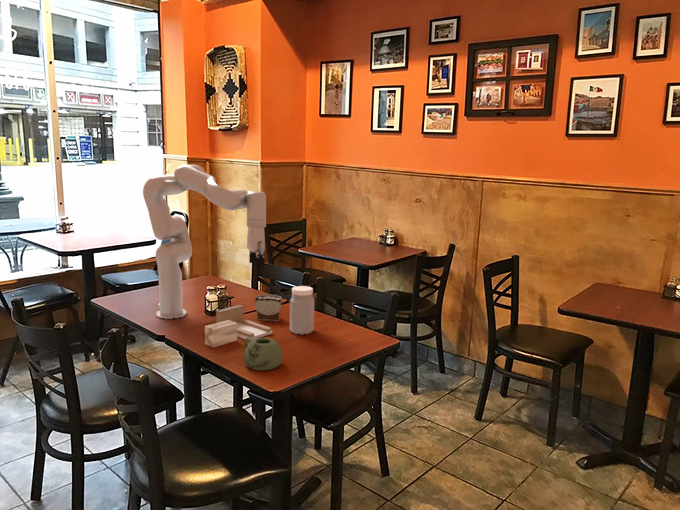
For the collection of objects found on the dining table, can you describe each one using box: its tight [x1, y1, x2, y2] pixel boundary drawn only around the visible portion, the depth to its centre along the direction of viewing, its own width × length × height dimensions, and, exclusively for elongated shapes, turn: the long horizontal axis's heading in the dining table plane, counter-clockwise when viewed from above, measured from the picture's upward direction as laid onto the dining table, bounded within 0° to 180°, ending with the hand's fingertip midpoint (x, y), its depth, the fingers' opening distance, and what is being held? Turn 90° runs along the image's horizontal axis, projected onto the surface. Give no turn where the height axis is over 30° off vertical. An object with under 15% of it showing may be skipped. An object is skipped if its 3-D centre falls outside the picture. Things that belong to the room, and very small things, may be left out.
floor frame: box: [215, 304, 273, 340], centre depth 215 cm, size 20×12×8 cm, turn 50°
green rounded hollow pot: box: [243, 337, 283, 371], centre depth 182 cm, size 16×13×9 cm
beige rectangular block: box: [204, 320, 238, 348], centre depth 202 cm, size 5×11×7 cm, turn 140°
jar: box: [289, 285, 315, 336], centre depth 215 cm, size 10×10×18 cm
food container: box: [253, 293, 284, 322], centre depth 232 cm, size 12×6×10 cm, turn 84°
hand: (256, 265), depth 216 cm, fingers open, 9 cm apart
